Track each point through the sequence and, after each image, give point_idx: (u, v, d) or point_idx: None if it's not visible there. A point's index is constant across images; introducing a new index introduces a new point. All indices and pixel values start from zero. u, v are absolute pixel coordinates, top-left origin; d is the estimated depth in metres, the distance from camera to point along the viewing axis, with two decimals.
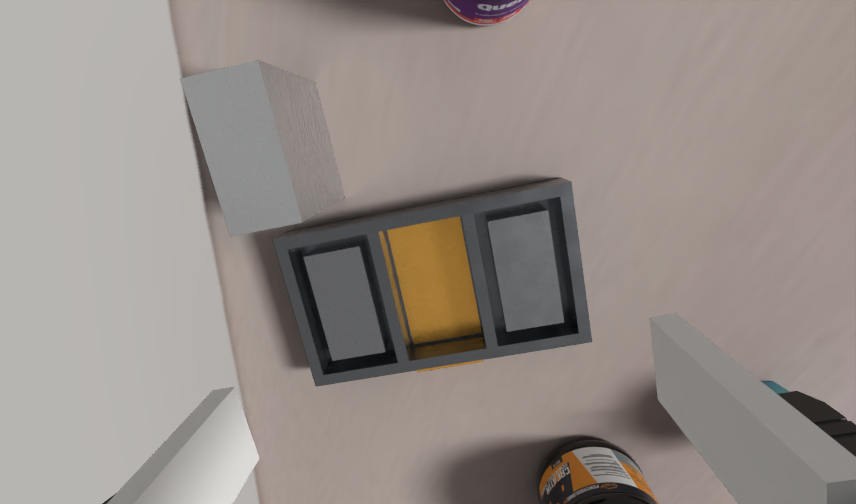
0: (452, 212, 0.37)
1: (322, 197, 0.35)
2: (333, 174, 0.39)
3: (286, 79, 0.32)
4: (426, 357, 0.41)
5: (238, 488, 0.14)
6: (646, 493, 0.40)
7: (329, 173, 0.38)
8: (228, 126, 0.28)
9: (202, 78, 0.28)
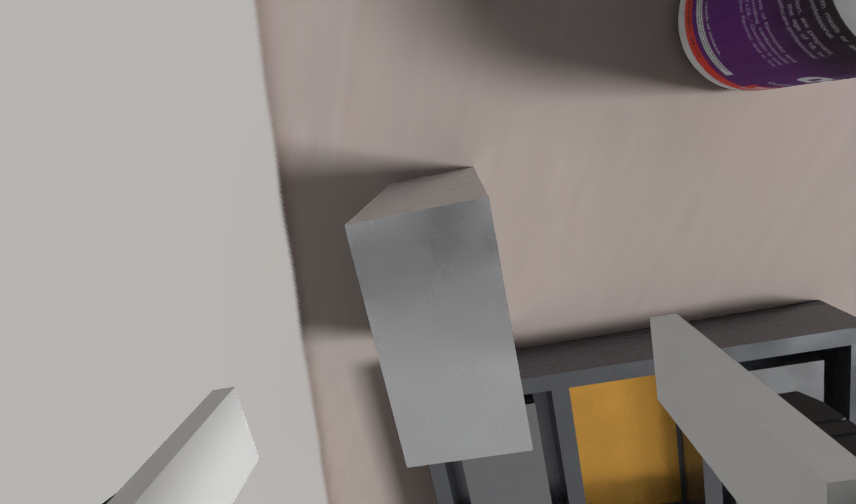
0: None
1: None
2: None
3: None
4: None
5: (238, 488, 0.14)
6: None
7: None
8: (423, 302, 0.16)
9: (384, 225, 0.16)
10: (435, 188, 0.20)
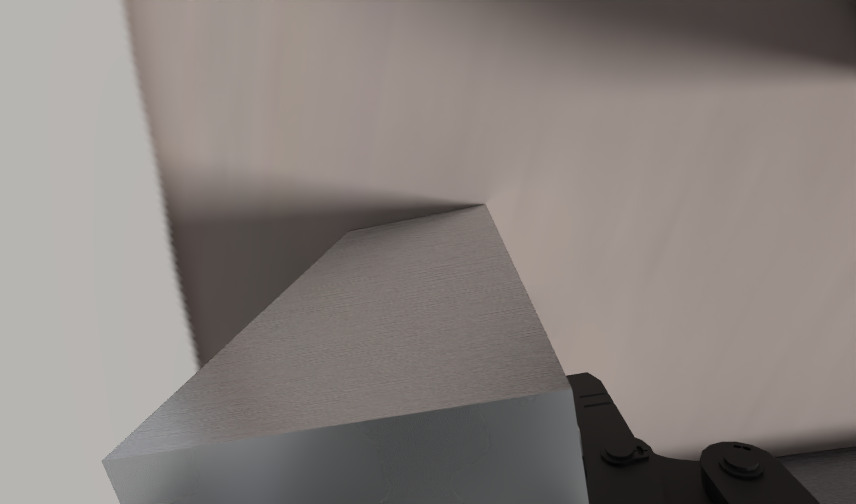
0: None
1: None
2: None
3: None
4: None
5: None
6: None
7: None
8: None
9: (228, 464, 0.05)
10: (414, 270, 0.10)
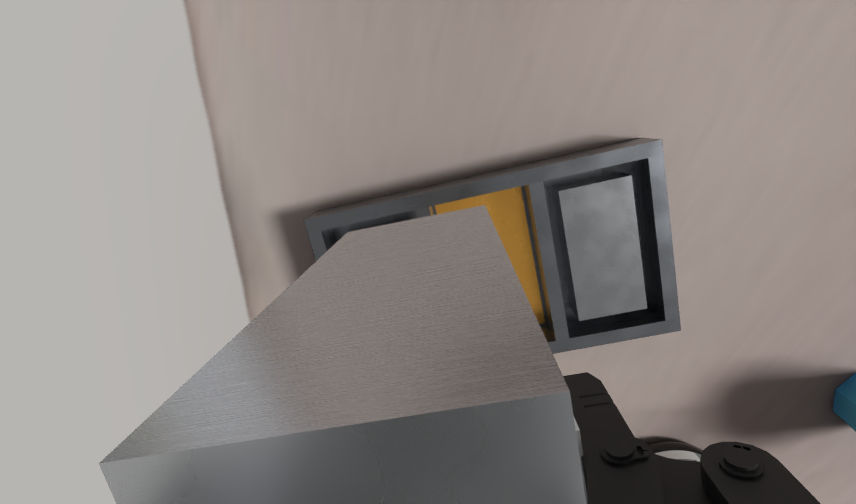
0: (518, 181, 0.31)
1: None
2: None
3: None
4: None
5: None
6: None
7: None
8: None
9: (226, 466, 0.05)
10: (413, 271, 0.10)
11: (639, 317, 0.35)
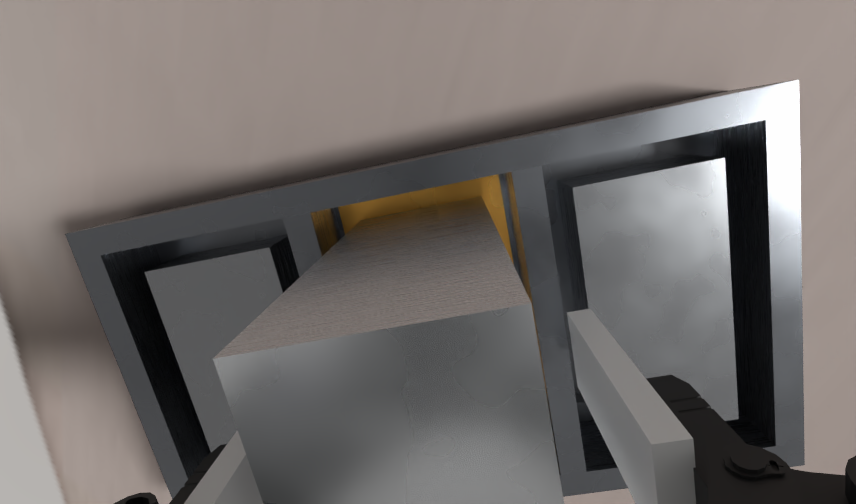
0: (490, 164, 0.15)
1: None
2: None
3: None
4: None
5: None
6: None
7: None
8: None
9: (300, 359, 0.07)
10: (421, 245, 0.12)
11: None
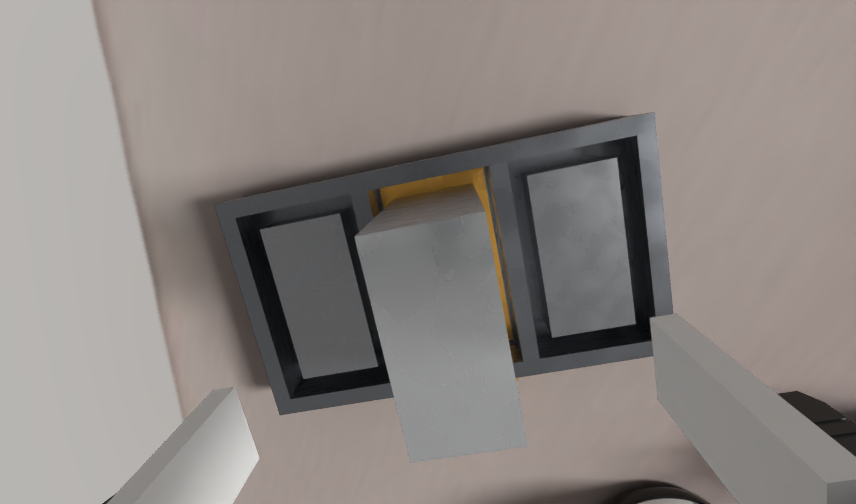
0: (476, 161, 0.25)
1: None
2: None
3: None
4: None
5: (238, 488, 0.14)
6: None
7: None
8: (425, 307, 0.18)
9: (391, 236, 0.17)
10: (437, 203, 0.22)
11: (626, 335, 0.28)
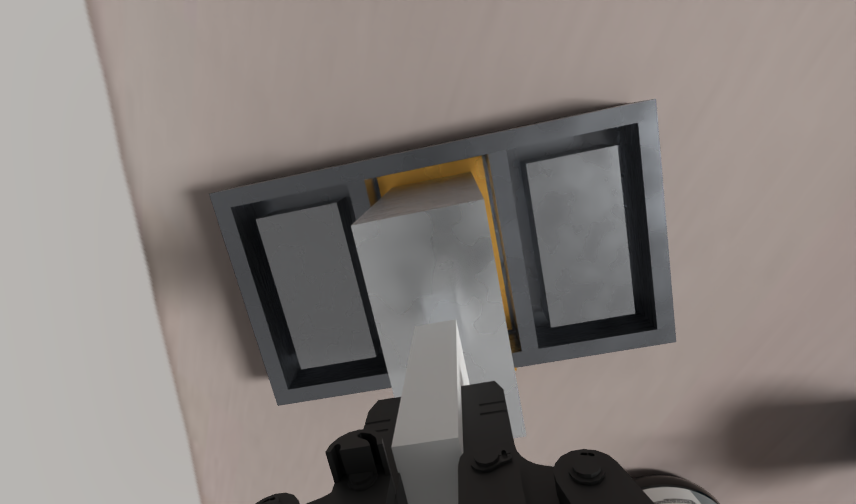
0: (474, 149, 0.25)
1: None
2: None
3: None
4: None
5: None
6: None
7: None
8: (423, 297, 0.18)
9: (388, 225, 0.17)
10: (435, 191, 0.22)
11: (625, 324, 0.28)
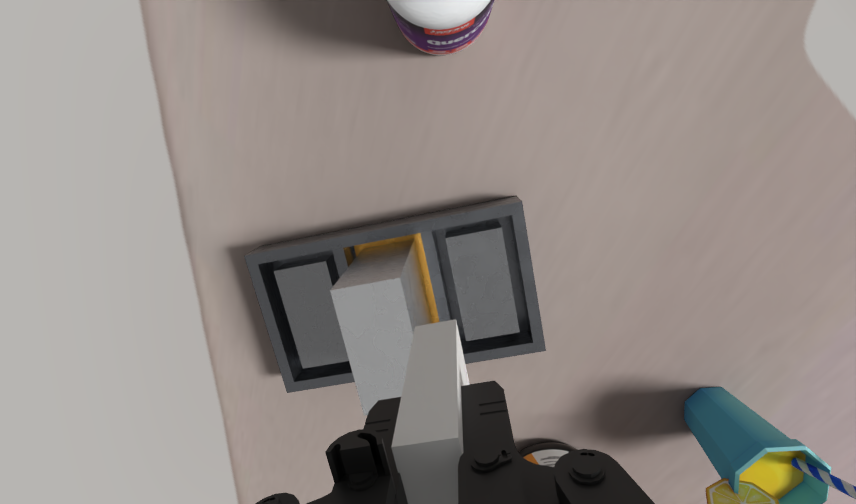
0: (412, 230, 0.40)
1: None
2: (430, 322, 0.43)
3: (407, 268, 0.36)
4: None
5: None
6: None
7: None
8: (369, 328, 0.32)
9: (349, 290, 0.32)
10: (382, 262, 0.37)
11: (516, 339, 0.43)
